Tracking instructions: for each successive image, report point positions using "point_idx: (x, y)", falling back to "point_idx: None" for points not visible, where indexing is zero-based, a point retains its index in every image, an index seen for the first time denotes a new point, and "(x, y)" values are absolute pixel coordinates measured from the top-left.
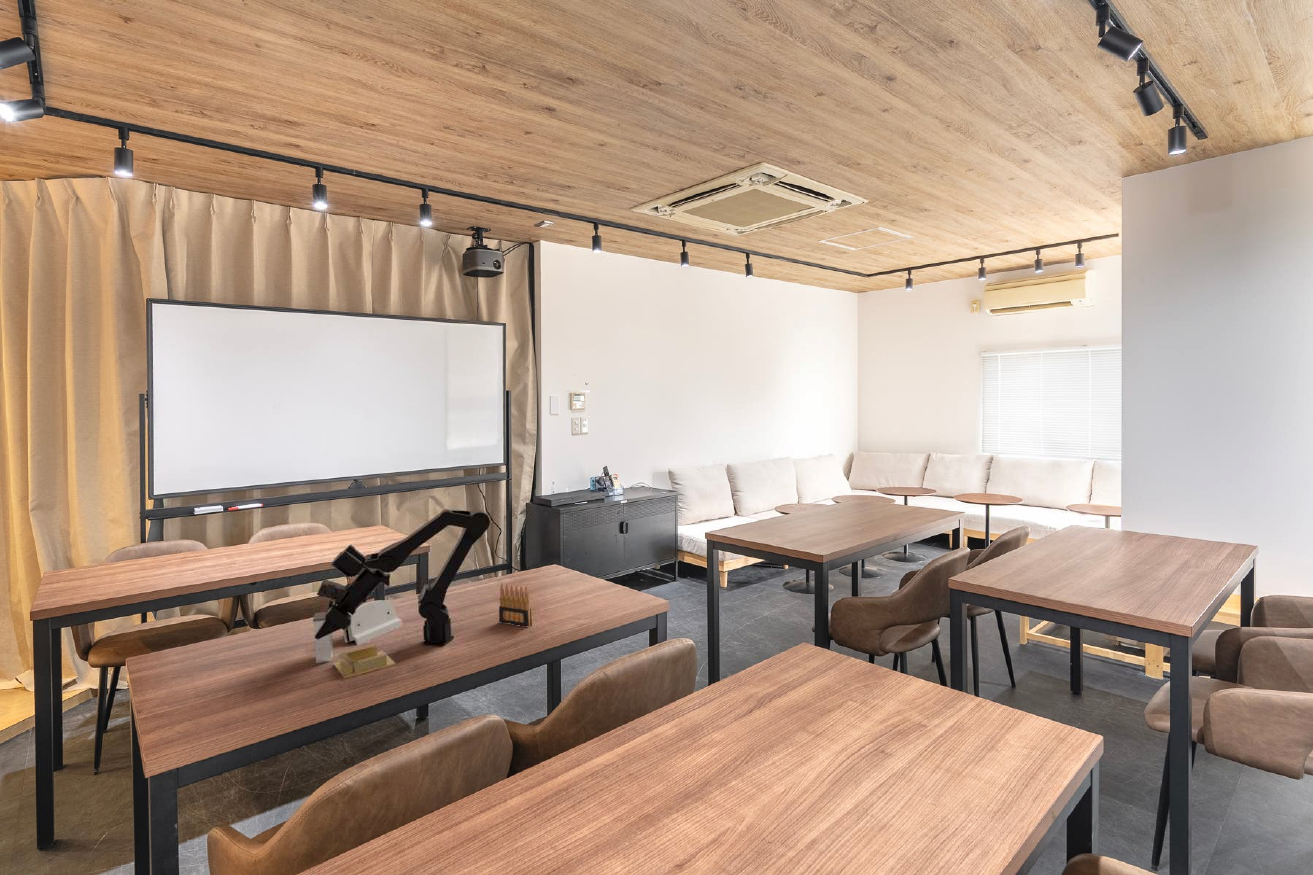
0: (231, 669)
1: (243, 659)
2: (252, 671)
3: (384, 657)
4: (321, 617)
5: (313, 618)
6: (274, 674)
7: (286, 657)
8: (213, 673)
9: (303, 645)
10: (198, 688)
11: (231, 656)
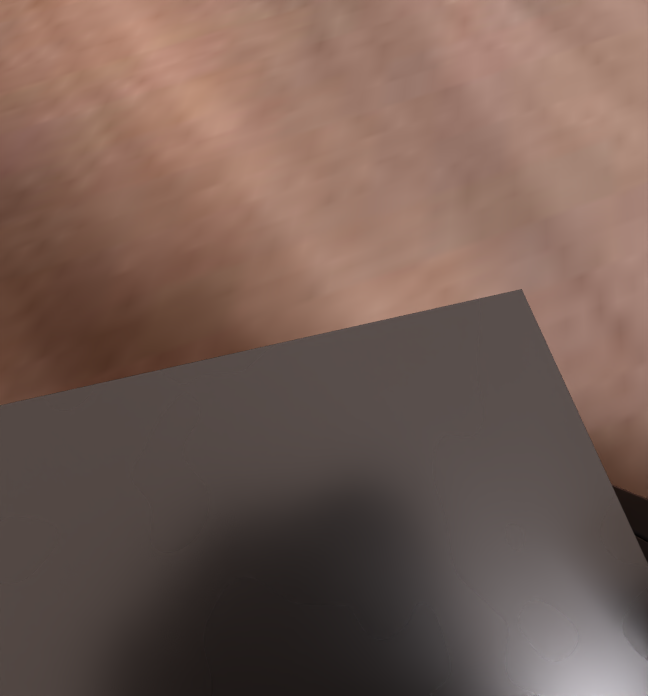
0: (237, 56)
1: (365, 60)
2: (178, 151)
3: None
4: (52, 650)
5: (50, 400)
6: (84, 281)
7: (363, 249)
8: (204, 8)
9: (560, 277)
10: (26, 13)
11: (412, 5)
